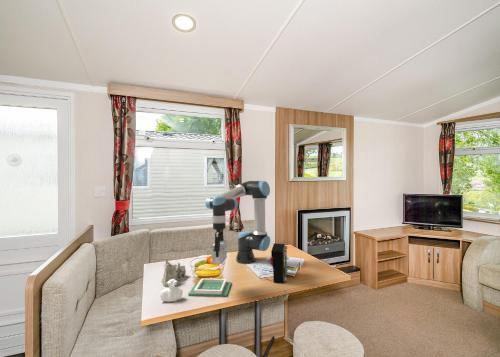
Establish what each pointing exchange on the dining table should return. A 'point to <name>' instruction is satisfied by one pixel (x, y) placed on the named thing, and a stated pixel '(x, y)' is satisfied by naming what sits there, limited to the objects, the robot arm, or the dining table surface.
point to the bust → (171, 292)
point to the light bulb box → (222, 252)
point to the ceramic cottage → (173, 273)
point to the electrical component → (279, 262)
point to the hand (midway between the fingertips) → (219, 258)
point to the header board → (211, 288)
